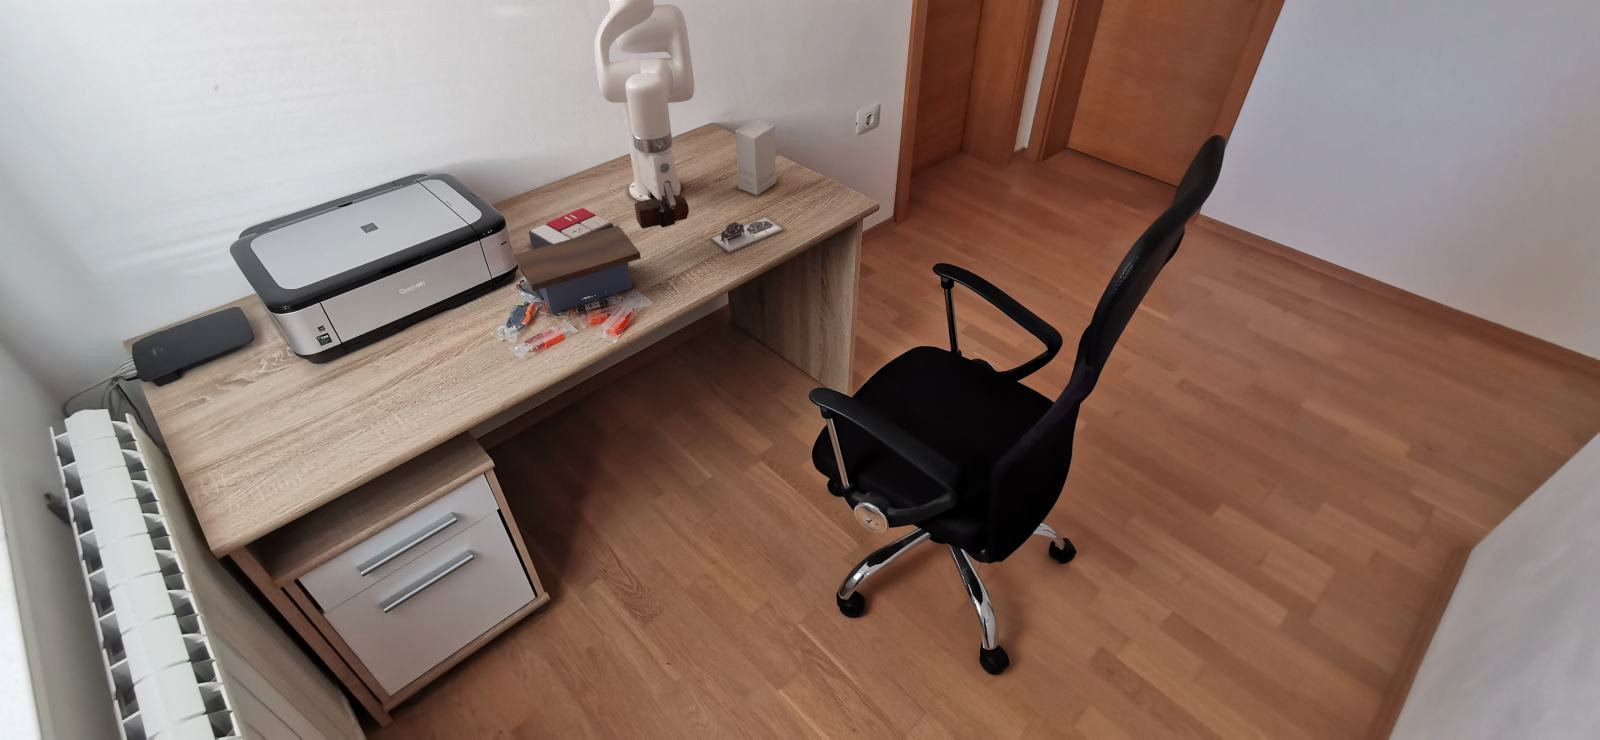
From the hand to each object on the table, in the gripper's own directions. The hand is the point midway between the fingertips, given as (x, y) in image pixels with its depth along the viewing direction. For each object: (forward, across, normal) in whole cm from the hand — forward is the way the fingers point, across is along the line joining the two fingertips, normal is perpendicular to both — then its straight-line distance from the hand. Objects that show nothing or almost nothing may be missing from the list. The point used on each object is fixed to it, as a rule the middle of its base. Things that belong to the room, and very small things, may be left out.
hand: (663, 218), depth 160 cm
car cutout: (+9, -3, -19) cm, 21 cm away
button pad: (+9, +15, +16) cm, 24 cm away
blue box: (+8, -4, +20) cm, 22 cm away
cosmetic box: (+9, +16, -32) cm, 37 cm away
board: (+1, -4, +20) cm, 21 cm away
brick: (+1, 0, 0) cm, 1 cm away
